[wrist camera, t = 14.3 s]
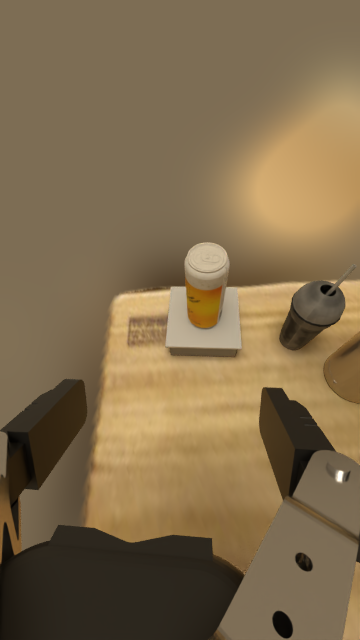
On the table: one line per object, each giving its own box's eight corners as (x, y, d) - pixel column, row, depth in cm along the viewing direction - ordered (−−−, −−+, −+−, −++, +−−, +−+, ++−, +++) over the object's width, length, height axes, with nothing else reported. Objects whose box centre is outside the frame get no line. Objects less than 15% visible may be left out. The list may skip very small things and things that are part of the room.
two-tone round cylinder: (191, 299, 47) (189, 238, 35) (222, 304, 47) (233, 242, 34) (184, 327, 45) (179, 270, 32) (218, 332, 44) (227, 277, 31)
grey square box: (233, 302, 53) (237, 287, 48) (237, 359, 46) (241, 348, 42) (173, 301, 54) (171, 286, 49) (168, 357, 47) (165, 346, 43)
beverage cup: (266, 326, 49) (303, 251, 32) (301, 319, 50) (356, 242, 32) (280, 360, 46) (331, 296, 28) (318, 352, 46) (391, 284, 29)
